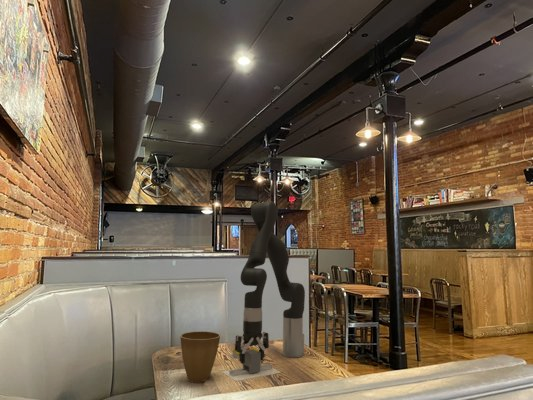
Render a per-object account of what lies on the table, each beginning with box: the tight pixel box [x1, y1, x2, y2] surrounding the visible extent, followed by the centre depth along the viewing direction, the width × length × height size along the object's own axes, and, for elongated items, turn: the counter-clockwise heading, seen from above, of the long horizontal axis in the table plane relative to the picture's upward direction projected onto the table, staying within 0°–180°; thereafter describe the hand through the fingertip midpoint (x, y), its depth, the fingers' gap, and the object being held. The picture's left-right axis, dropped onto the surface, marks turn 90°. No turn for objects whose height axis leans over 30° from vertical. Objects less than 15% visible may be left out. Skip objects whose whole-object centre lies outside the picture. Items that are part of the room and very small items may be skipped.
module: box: [242, 349, 262, 373], centre depth 146 cm, size 4×6×7 cm
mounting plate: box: [221, 363, 282, 383], centre depth 145 cm, size 20×12×1 cm, turn 123°
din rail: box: [229, 363, 273, 377], centre depth 145 cm, size 18×2×2 cm, turn 123°
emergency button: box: [229, 346, 260, 360], centre depth 170 cm, size 9×4×15 cm
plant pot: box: [179, 330, 221, 383], centre depth 139 cm, size 15×15×16 cm
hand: (251, 361), depth 145 cm, fingers open, 8 cm apart
